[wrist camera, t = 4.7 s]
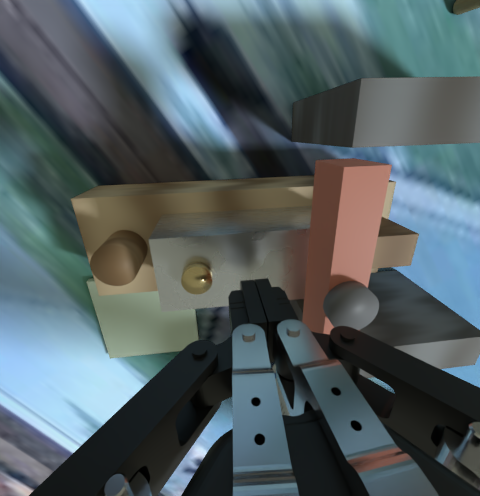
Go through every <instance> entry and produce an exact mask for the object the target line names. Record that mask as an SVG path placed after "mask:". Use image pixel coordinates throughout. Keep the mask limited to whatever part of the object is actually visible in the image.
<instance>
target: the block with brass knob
mask: <svg viewBox="0 0 480 496" xmlns="http://www.w3.org/2000/svg"><path fill="white" fill-rule="evenodd" d="M311 211H312V206H298V207H282V208H265V209H248V210H231V211H214V212H197V213H180V214H163V215H162V216H161V218H160V220H159V221H158V223H157V225H156V227H155V229H154V230H153V232H152V234H151V236H150V238H149V239H148V240H149V245H150V251H151V256H152V262H153V267H154V273H155V278H156V283H157V289H158V294H159V300H160V305H161V311H162V312H167V311H178V310H189V309H199V308H210V307H221V306H229V300H228V296H229V295H230V293H231V291H235V290H240V281H243V280H255V279H265V278H268V279H269V282H270V284H271V287H280V288H281V289H282V290H284V291H285V293H286V295H287V297H288V299H289V300H297V299H304V295H305V283H306V271H307V259H308V247H309V235H310V223H311Z"/></svg>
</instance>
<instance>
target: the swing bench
mask: <svg viewBox="0 0 480 496" xmlns="http://www.w3.org/2000/svg"><path fill="white" fill-rule="evenodd" d="M479 7H480V0H456V2H455V3H454V6H453V13H454V14H456V15H459V14H462V13H465V12H468V11H471V10H473V9H476V8H479Z"/></svg>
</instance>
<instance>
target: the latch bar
mask: <svg viewBox="0 0 480 496" xmlns="http://www.w3.org/2000/svg"><path fill="white" fill-rule="evenodd" d="M391 167H392V165H389V164H383V163H378V162H372V161H366V160H360V159H354V158H352V159H329V160H316V162H315V174H314V186H313V199H312V211H311V223H310V235H309V247H308V259H307V271H306V283H305V295H304V307H303V319H302V322H303V323H304V324H306V325H307V326H308V328H309V329H310V331H312V332H316V333H322V334H330V331H331V330H332V329H333V328H334V327H337V326H348V327H352V328H354V329H356V330H360V329H362V328H364V327H366V326H367V325H368V324H370V323H371V322H372V321H373V320H374V318H375V317H376V315H377V313H378V310H379V301H378V299H377V297H376V296H375V295H374V294H373V293H372V292H371V291H370V290H369V289H368V284H369V279H370V274H371V269H372V264H373V259H374V254H375V248H376V243H377V238H378V233H379V228H380V223H381V218H382V213H383V208H384V202H385V197H386V192H387V187H388V182H389V177H390V172H391Z"/></svg>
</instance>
